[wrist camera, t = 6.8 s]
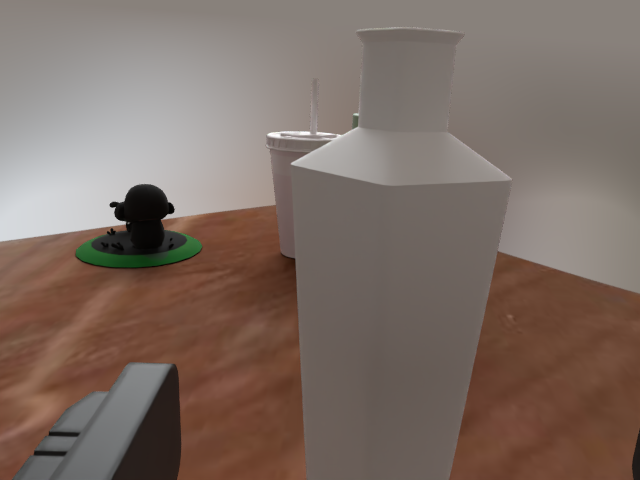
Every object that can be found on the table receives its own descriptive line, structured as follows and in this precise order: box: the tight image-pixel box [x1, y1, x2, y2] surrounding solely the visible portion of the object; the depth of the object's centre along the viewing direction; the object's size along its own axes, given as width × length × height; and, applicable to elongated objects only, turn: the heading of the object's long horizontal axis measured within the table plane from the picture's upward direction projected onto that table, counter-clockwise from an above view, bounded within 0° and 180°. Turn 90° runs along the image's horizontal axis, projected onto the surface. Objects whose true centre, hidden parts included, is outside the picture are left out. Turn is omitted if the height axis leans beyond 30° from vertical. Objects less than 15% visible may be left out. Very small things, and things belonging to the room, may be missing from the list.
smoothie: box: [266, 79, 342, 258], centre depth 44 cm, size 6×6×14 cm
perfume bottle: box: [291, 27, 513, 480], centre depth 13 cm, size 5×4×15 cm
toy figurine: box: [76, 184, 202, 267], centre depth 45 cm, size 10×10×6 cm
